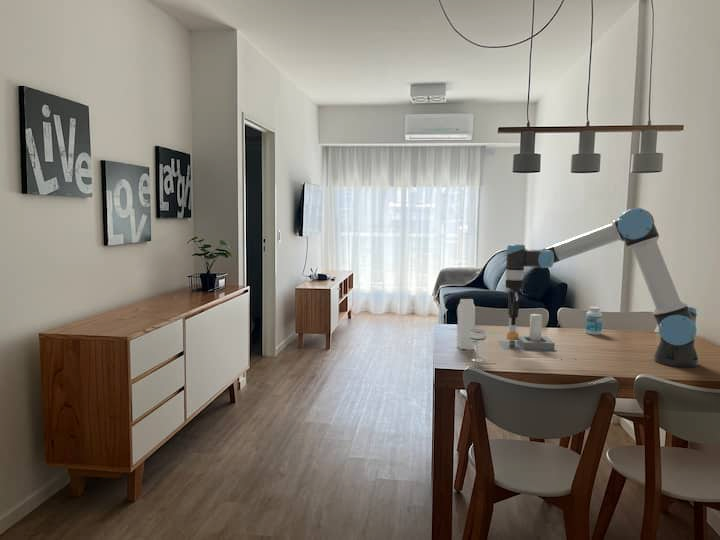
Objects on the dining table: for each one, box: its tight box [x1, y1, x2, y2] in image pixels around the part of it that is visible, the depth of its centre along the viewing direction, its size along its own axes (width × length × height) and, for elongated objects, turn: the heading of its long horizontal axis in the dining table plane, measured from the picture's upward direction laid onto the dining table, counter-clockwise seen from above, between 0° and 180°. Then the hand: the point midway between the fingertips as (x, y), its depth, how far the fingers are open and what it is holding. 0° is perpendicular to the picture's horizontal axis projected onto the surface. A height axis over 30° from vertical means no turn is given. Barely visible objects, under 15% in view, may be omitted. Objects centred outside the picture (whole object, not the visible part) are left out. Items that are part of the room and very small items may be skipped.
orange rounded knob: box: [506, 330, 519, 341], centre depth 230 cm, size 5×5×3 cm
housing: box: [497, 335, 557, 352], centre depth 230 cm, size 16×22×4 cm
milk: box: [456, 298, 476, 351], centre depth 228 cm, size 6×6×22 cm
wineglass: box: [469, 328, 487, 363], centre depth 209 cm, size 7×7×12 cm
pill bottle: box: [584, 306, 603, 336], centre depth 261 cm, size 8×7×14 cm
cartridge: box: [528, 313, 543, 342], centre depth 229 cm, size 5×5×14 cm
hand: (512, 331), depth 230 cm, fingers closed
